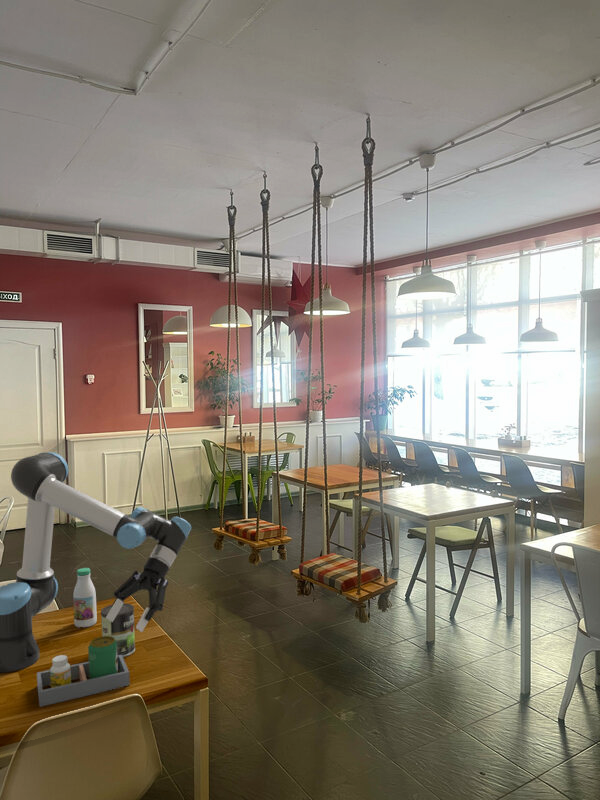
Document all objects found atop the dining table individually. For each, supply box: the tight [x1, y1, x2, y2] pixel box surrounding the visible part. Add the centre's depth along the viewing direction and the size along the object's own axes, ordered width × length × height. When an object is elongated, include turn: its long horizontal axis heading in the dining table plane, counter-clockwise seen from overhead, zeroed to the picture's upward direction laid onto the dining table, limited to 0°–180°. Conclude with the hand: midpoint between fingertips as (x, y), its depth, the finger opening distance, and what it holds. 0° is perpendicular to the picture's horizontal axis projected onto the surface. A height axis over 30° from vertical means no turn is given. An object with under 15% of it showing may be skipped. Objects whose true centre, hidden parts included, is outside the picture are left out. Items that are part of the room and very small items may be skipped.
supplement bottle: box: [49, 654, 72, 688], centre depth 174 cm, size 5×5×10 cm
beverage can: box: [87, 635, 119, 680], centre depth 180 cm, size 8×8×12 cm
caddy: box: [36, 655, 131, 708], centre depth 177 cm, size 12×24×4 cm, turn 116°
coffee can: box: [100, 602, 136, 658], centre depth 199 cm, size 10×10×14 cm
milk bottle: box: [72, 567, 98, 628], centre depth 222 cm, size 8×8×20 cm
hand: (123, 625), depth 185 cm, fingers open, 13 cm apart
